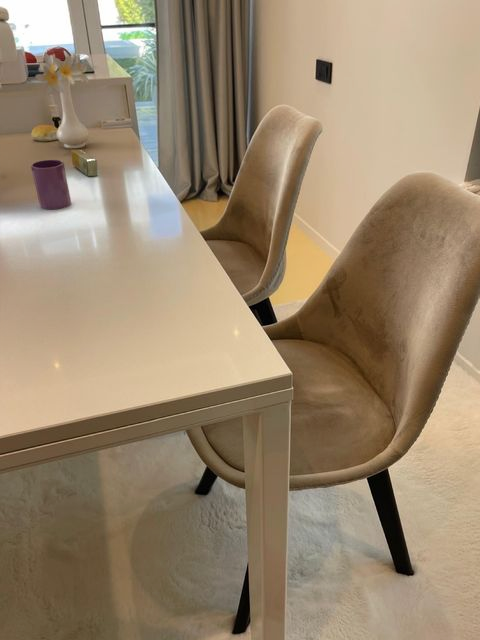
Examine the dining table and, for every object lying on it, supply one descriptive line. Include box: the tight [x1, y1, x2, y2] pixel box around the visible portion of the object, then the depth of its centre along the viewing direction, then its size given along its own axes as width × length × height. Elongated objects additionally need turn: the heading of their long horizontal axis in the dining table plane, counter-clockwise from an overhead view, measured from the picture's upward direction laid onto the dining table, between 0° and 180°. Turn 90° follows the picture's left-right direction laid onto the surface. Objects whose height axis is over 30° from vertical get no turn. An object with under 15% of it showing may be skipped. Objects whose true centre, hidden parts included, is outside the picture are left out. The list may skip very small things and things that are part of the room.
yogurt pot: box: [30, 159, 72, 210], centre depth 124 cm, size 7×7×9 cm
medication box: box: [70, 149, 98, 177], centre depth 146 cm, size 12×3×4 cm, turn 35°
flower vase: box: [34, 50, 90, 150], centre depth 161 cm, size 13×18×25 cm
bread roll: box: [31, 124, 59, 142], centre depth 175 cm, size 8×9×4 cm
